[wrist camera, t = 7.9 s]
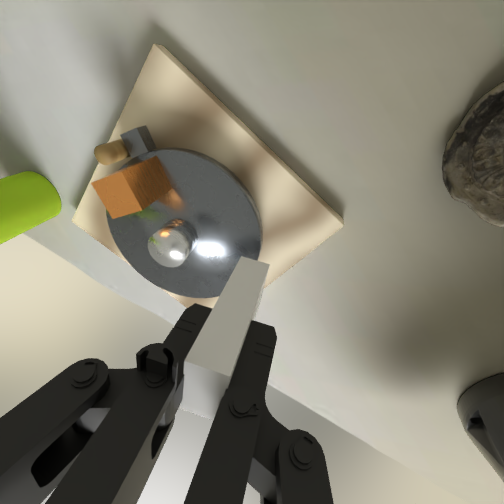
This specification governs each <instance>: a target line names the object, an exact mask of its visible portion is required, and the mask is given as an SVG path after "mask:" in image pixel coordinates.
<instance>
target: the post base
mask: <svg viewBox="0 0 504 504" xmlns="http://www.w3.org/2000/svg"><path fill="white" fill-rule="evenodd" d="M145 125H146V126H147V128H148V130H149V133H150V135H151V137H152V139H153V141H154V143H155V145H156V147H157V148H156V149H159V148H167V147H175V148H185V149H190V150H194V151H197V152H200V153H203V154H205V155H207V156H209V157H212V158H214V159H215V160H217V161H218V162H220V163H222V164H223V165H225V166H226V167H227V168H228V169H229V170H231V171H232V172H233V173H234V174H235V175H236V176H237V177H238V178H239V179H240V180H241V181H242V182H243V184H244V185H245V186H246V188H247V189H248V190H249V192H250V194H251V195H252V197H253V199H254V201H255V203H256V205H257V208H258V210H259V213H260V217H261V220H262V227H263V243H262V249H261V252H260V255H259V258H258V261H260V262H264V263H267V264H270V265H269V269H268V273H267V277H266V281H265V285H264V288H266V287H267V286H268V285H269V284H271V283H272V282H273V281H274V280H276V279H277V278H278V277H280V276H281V275H282V274H283V273H285V272H286V271H287V270H288V269H290V268H291V267H292V266H294V265H295V264H296V263H297V262H299V261H300V260H301V259H302V258H304V257H305V256H306V255H308V254H309V253H310V252H311V251H313V250H314V249H315V248H316V247H318V246H319V245H320V244H322V243H323V242H324V241H325V240H327V239H328V238H329V237H331V236H332V235H333V234H334V233H336V232H337V231H338V230H339V229H341V228H342V227H343V226H344V221H343V219H342V218H341V217H340V216H339V215H338V214H337V213H336V212H335V211H334V210H333V209H332V208H331V207H330V206H329V205H328V204H327V203H326V202H325V201H324V200H323V199H322V198H321V197H320V196H319V195H318V194H317V193H315V192H314V191H313V190H312V189H311V188H310V187H309V186H308V185H307V184H306V183H305V182H304V181H303V180H302V179H301V178H300V177H299V176H298V175H297V174H296V173H295V172H294V171H293V170H292V169H291V168H290V167H288V166H287V165H286V164H285V163H284V162H283V161H282V160H281V159H280V158H279V157H278V156H277V155H276V154H275V153H274V152H273V151H272V150H271V149H270V148H269V147H268V146H267V145H266V144H265V143H264V142H263V141H261V140H260V139H259V138H258V137H257V136H256V135H255V134H254V133H253V132H252V131H251V130H250V129H249V128H248V127H247V126H246V125H245V124H244V123H243V122H242V121H241V120H240V119H239V118H238V117H237V116H236V115H234V114H233V113H232V112H231V111H230V110H229V109H228V108H227V107H226V106H225V105H224V104H223V103H222V102H221V101H220V100H219V99H218V98H217V97H216V96H215V95H214V94H213V93H212V92H211V91H210V90H209V89H207V88H206V87H205V86H204V85H203V84H202V83H201V82H200V81H199V80H198V79H197V78H196V77H195V76H194V75H193V74H192V73H191V72H190V71H189V70H188V69H187V68H186V67H185V66H184V65H183V64H182V63H180V62H179V61H178V60H177V59H176V58H175V57H174V56H173V55H172V54H171V53H170V52H169V51H168V50H167V49H166V48H165V47H164V46H163V45H158V44H153V46H152V48H151V50H150V53H149V55H148V57H147V59H146V61H145V63H144V66H143V68H142V70H141V72H140V74H139V76H138V78H137V81H136V83H135V85H134V87H133V89H132V91H131V94H130V96H129V98H128V100H127V102H126V104H125V107H124V109H123V111H122V113H121V115H120V117H119V120H118V122H117V124H116V126H115V128H114V130H113V132H112V135H111V137H110V139H109V141H108V143H106V144H102V145H99V146H97V147H96V148H95V150H94V154H95V157H96V159H97V160H98V162H99V163H98V165H97V167H96V169H95V171H94V173H93V176H92V178H91V180H90V182H89V184H88V186H87V189H86V191H85V193H84V195H83V197H82V199H81V202H80V204H79V206H78V208H77V210H76V212H75V214H74V217H73V219H72V222H73V223H75V224H76V225H77V226H79V227H80V228H81V229H83V230H84V231H85V232H87V233H88V234H89V235H91V236H92V237H93V238H95V239H96V240H97V241H99V242H100V243H101V244H103V245H104V246H105V247H107V248H108V249H109V250H111V251H112V252H113V253H115V254H116V255H117V256H119V257H120V258H121V259H123V260H124V261H125V262H127V263H128V264H129V265H130V263H129V262H128V261H127V260H126V259H125V258H124V256H123V255H122V253H121V252H120V250H119V249H118V247H117V245H116V243H115V242H114V239H113V237H112V235H111V232H110V229H109V226H108V222H107V216H106V207H105V206H104V204H103V202H102V201H101V199H100V198H99V196H98V194H97V193H96V191H95V189H94V188H93V186H92V184H91V183H92V182H94V181H96V180H98V179H101V178H103V177H105V176H107V175H110V174H112V173H114V172H117V171H118V170H119V169H120V168H121V167H122V166H123V165H124V164H125V163H127V162H128V161H130V160H131V159H133V158H132V157H131V155H130V153H129V152H128V150H127V148H126V146H125V144H124V142H123V140H122V138H121V136H120V134H123V133H125V132H127V131H130V130H132V129H134V128H137V127H141V126H145ZM154 150H155V149H154ZM136 157H137V156H136ZM134 158H135V157H134ZM161 289H162V288H161ZM163 290H164V289H163ZM164 291H165V292H167V293H168V294H169V295H171V296H172V297H173V298H175V299H176V300H177V301H179V302H180V303H181V304H183V305H184V306H185V307H187V308H188V307H190V306H191V305H193V304H194V303H197V304H200V305H203V306H206V307H209V308H213V307H214V305H215V304H216V302H217V300H218V298H219V296H218V297H213V298H191V297H185V296H181V295H177V294H174V293H171V292H169V291H167V290H164Z"/></svg>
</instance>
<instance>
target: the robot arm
mask: <svg viewBox="0 0 504 504" xmlns="http://www.w3.org/2000/svg"><path fill="white" fill-rule="evenodd" d="M269 265H270V264H267V263H264V262H260V261H257V260H253V259H250V258H246V257H243V256H241V258H240V259H239V261H238V263H237V265H236V267H235V269H234V270H233V272H232V274H231V276H230V278H229V280H228V282H227V283H226V285H225V287H224V289H223V291H222V293H221V294H220V296H219V298H218V300H217V302H216V304H215V305H214V307H213V308H209V307H206V306H203V305H200V304H197V303H194V304H193V305H191V306H190V307H188V308H187V309H185V311H184V312H183V314H182V315H181V317H180V318H179V320H178V321H177V323H176V324H175V326H174V328H173V329H172V330H171V332H170V334H169V335H168V336H167V338H166V339H165V341H164V343H163V344H162V343H155V344H150V345H148V346H146V347H144V348H142V349H141V350H140V351H139V352H138V353H137V354H136V360H137V368H133V369H108V366H107V365H106V364H105V363H104V361H101V360H99V359H93V358H91V359H90V358H88V359H84V360H80V361H78V362H76V363H74V364H72V365H71V366H69V367H68V368H67V369H65V370H64V371H63V372H61V373H60V374H58V375H57V376H56V377H54V378H53V379H52V380H50V381H49V382H48V383H46V384H45V385H44V386H42V387H41V388H40V389H39V390H37V391H36V392H35V393H33V394H32V395H30V396H29V397H28V398H26V399H25V400H24V401H22V402H21V403H20V404H18V405H17V406H16V407H14V408H13V409H12V410H10V411H9V412H8V413H6V414H5V415H4V416H2V417H1V418H0V504H41V503H42V502H43V500H44V499H45V498H46V497H47V496H48V495H49V494H50V493H51V492H52V491H53V490H54V489H55V488H56V489H55V490H54V491H53V493H52V494H51V496H50V497H49V499H48V500H47V502H46V503H45V504H136V503H137V501H138V499H139V497H140V495H141V493H142V491H143V489H144V486H145V484H146V482H147V480H148V478H149V475H150V474H151V471H152V469H153V467H154V465H155V463H156V461H157V459H158V457H159V454H160V452H161V450H162V448H163V446H164V444H165V442H166V440H167V437H168V435H169V433H170V431H171V429H172V427H173V423H174V419H175V414H176V412H177V410H178V407H179V405H180V403H181V409H182V410H185V411H188V412H191V413H193V414H196V415H199V416H202V417H205V418H207V419H210V420H213V423H212V426H211V429H210V432H209V434H208V437H207V440H206V443H205V446H204V448H203V451H202V454H201V457H200V460H199V463H198V465H197V468H196V471H195V473H194V476H193V479H192V482H191V485H190V487H189V490H188V493H187V496H186V499H185V501H184V504H243V499H244V494H245V490H246V485H247V482H248V483H249V484H250V485H251V486H252V487H253V488H255V490H257V491H258V492H259V493H260V499H261V500H260V501H261V502H260V503H261V504H333V498H332V493H331V488H330V482H329V477H328V471H327V466H326V461H325V456H324V453H323V450H322V447H321V445H320V444H319V443H318V442H317V440H316V439H315V437H313V436H312V435H311V434H309V433H308V432H306V431H303V430H300V429H296V430H290V431H289V430H288V429H287V428H286V427H284V426H283V425H282V424H280V423H279V422H278V421H277V420H276V419H275V418H274V417H272V415H271V414H270V412H269V411H268V408H267V406H266V403H265V391H266V386H267V382H268V377H269V372H270V368H271V363H272V358H273V354H274V349H275V345H276V340H277V336H276V332H275V328H274V327H272V326H269V325H266V324H263V323H260V322H256V321H254V319H255V316H256V313H257V310H258V307H259V304H260V300H261V296H262V292H263V289H264V285H265V281H266V277H267V273H268V269H269ZM457 411H458V414H459V417H460V419H461V422H462V424H463V427H464V429H465V431H466V433H467V435H468V436H469V438H470V439H471V440H472V441H473V443H474V444H475V445H476V447H477V448H478V449H479V451H480V452H481V453H482V454H483V456H484V457H485V458H486V460H487V461H488V462H489V463H490V465H491V466H492V467H493V469H494V470H495V471H496V473H497V474H498V475H499V476H500V478H501V479H502V480H503V482H504V374H500V375H496V376H493V377H490V378H487V379H485V380H483V381H481V382H479V383H477V384H475V385H473V386H472V387H471V388H469V389H468V390H467V391H466V392H465V393H464V394H463V395H462V396H461V398H460V400H459V402H458V406H457Z"/></svg>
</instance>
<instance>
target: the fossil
mask: <svg viewBox="0 0 504 504" xmlns="http://www.w3.org/2000/svg"><path fill="white" fill-rule="evenodd" d="M442 171H443V180H444V184H445V186H446V188H447V190H448V192H449V193H450V195H451V197H452V198H453V199H455V200H457V201H460V202H463V203H465V204H468V206H469V207H470V208H471V209H472V210H473V211H474V212H475V213H477V214H478V216H479V217H480V218H482V219H483V220H485V221H486V222H488V223H490V224H493V225H495V226H499V227H504V81H503V82H502V83H500V84H499V85H497V86H496V87H495V88H493V89H492V90H490V91H489V92H488V93H486V94H485V95H483V96H482V97H481V98H480V99H479V100H478V101H477V102H476V103H475V104H474V105H473V106H472V107H471V109H470V110H469V111H468V113H467V114H466V116H465V117H464V119H463V121H462V122H461V124H460V126H459V128H458V129H456V130H455V131H454V133H453V135H452V138H451V139H450V140H449V141H448V143H447V145H446V148H445V152H444V155H443V164H442Z"/></svg>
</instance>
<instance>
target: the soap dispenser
mask: <svg viewBox="0 0 504 504" xmlns="http://www.w3.org/2000/svg"><path fill="white" fill-rule="evenodd" d="M60 211H61V200H60V197H59V194H58V192H57V191H56V189H55V188H54V186H53V185H52V184H51V183H50V182H49V181H48V180H47V179H46V178H44V177H43V176H41V175H40V174H38V173H35V172H31V171H25V172H22V173H18V174H15V175H12V176H9V177H5V178H2V179H0V244H2V243H3V242H6V241H8V240H10V239H12V238H13V237H16V236H17V235H19V234H21V233H23V232H25V231H27V230H29V229H31V228H33V227H35V226H37V225H39V224H41V223H43V222H45V221H47V220H49V219H51V218H53V217H55V216H57V215H58V214H59V213H60Z"/></svg>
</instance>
